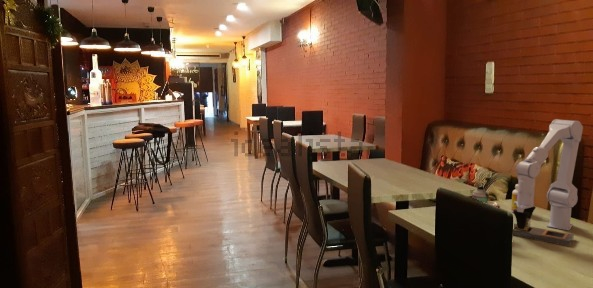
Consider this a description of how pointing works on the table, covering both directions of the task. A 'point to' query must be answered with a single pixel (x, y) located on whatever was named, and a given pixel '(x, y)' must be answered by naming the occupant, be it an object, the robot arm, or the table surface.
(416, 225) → the table surface
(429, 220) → the table surface
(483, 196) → the spray can
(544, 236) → the grey slotted board
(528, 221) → the tan square knob peg
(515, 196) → the supplement bottle
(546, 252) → the table surface
